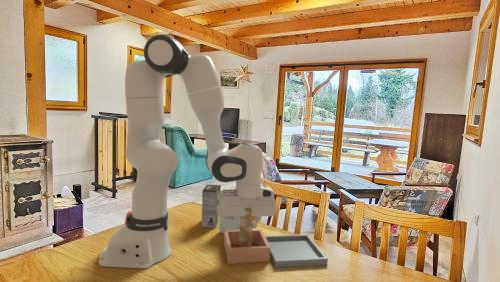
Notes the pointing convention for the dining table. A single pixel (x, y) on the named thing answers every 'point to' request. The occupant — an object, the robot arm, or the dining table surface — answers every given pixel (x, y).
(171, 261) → the dining table surface
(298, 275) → the dining table surface
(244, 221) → the dowel
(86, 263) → the dining table surface
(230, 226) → the supplement box
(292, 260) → the tray
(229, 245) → the open square box
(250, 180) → the robot arm
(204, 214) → the coffee box
